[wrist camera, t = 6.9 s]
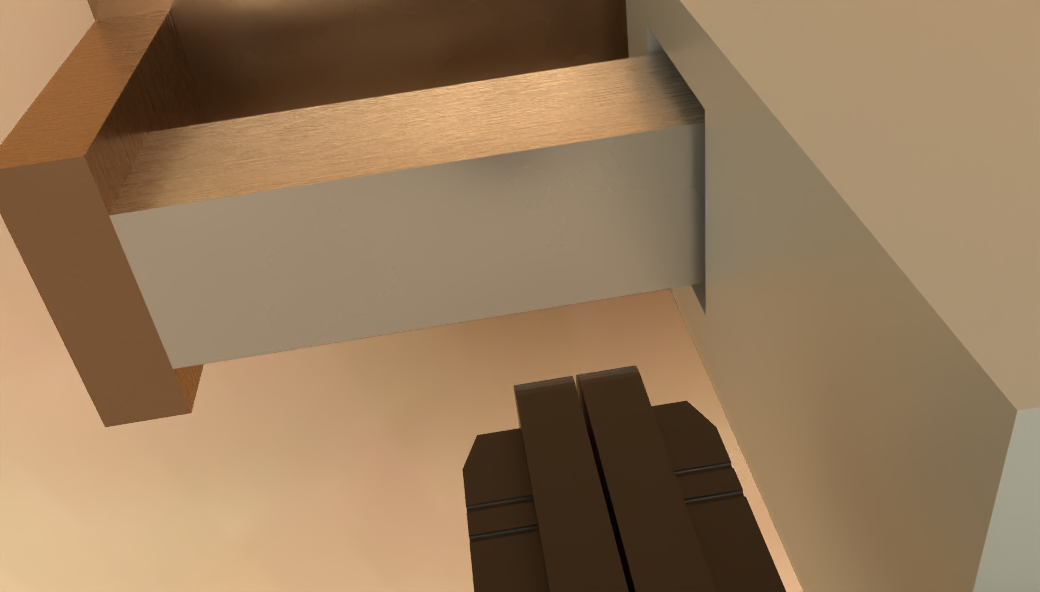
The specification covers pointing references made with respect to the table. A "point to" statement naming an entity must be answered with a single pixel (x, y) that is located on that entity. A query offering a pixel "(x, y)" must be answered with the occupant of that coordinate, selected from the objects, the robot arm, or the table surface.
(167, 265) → the rail
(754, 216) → the pale grey rectangular block
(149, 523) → the table surface
